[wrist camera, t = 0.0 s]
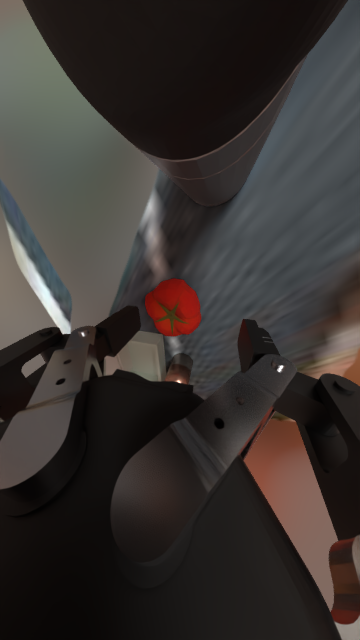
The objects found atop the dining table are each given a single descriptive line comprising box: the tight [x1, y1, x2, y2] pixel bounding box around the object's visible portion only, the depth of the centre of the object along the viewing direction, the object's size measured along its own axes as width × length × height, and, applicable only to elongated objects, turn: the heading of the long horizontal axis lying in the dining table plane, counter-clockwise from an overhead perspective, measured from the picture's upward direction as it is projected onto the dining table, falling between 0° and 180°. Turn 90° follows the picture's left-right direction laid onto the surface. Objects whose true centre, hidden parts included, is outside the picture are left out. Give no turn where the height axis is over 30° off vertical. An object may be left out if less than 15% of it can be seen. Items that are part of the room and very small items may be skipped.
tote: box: [106, 331, 167, 381], centre depth 40 cm, size 16×18×4 cm
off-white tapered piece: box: [105, 344, 133, 375], centre depth 40 cm, size 10×6×5 cm, turn 1°
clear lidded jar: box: [164, 353, 193, 384], centre depth 34 cm, size 6×6×12 cm
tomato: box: [145, 278, 201, 336], centre depth 27 cm, size 10×11×6 cm
